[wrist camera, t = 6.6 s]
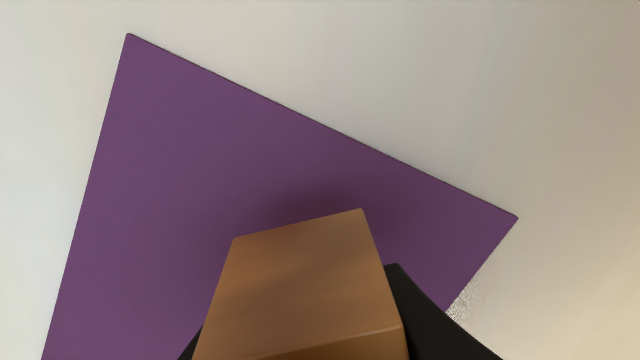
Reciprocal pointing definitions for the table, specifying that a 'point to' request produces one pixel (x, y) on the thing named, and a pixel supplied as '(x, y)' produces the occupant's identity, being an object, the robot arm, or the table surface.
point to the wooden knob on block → (304, 296)
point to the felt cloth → (231, 207)
